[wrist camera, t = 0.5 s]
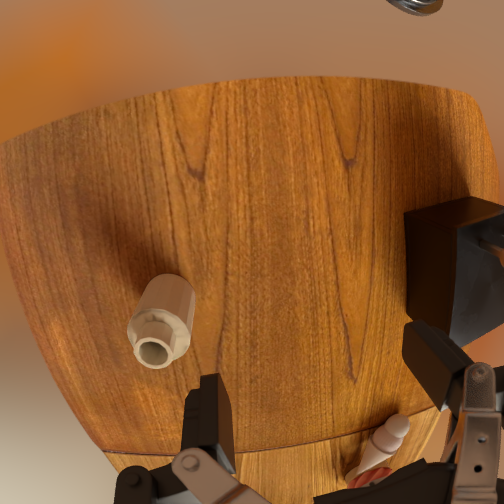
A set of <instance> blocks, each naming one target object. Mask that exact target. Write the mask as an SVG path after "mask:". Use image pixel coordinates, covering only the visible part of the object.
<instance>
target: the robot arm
mask: <svg viewBox="0 0 504 504" xmlns="http://www.w3.org/2000/svg"><path fill="white" fill-rule="evenodd" d="M407 1H409V2H412V3H414V4H417V5H430V4H432V3H434V2H435V1H437V0H407ZM402 356H403V360H404V362H405V364H406V365H407V366H408V368H409V369H410V370H411V372H412V373H413V375H414V376H415V377H416V379H417V380H418V381H419V383H420V384H421V386H422V387H423V388H424V390H425V391H426V393H427V394H428V395H429V397H430V398H431V400H432V401H433V403H434V404H435V405H436V407H437V408H438V410H439V411H440V412H441V411H443V410H445V409H447V408H449V409H450V410H451V413H450V417H449V423H448V430H447V435H446V441H445V446H444V450H443V454H442V457H441V459H440V462H433V463H426V461H425V459H424V458H422V459H420V460H418V461H416V462H413V463H411V464H409V465H407V466H404V467H402V468H400V469H398V470H397V471H395V472H394V473H392V474H391V475H389V476H388V477H386V478H385V479H383V480H382V481H380V482H379V483H377V484H376V485H373V486H368V487H360V488H351V489H342V490H338V491H335V492H331V493H328V494H324V495H320V496H316V497H313V500H314V504H504V480H503V479H500V478H497V474H498V467H499V457H500V443H501V426H502V428H503V429H504V366H500V367H496V368H492V367H491V366H490V365H488V364H486V363H482V362H476V363H474V362H473V361H472V360H471V358H469V357H468V355H467V354H466V353H465V352H464V351H463V350H462V349H461V348H460V347H459V346H458V345H457V344H455V342H454V341H453V340H452V339H451V338H450V337H449V336H448V335H447V334H446V333H445V332H444V331H443V330H441V329H439V328H437V327H435V326H431V327H430V326H429V325H428V324H427V323H426V322H425V321H424V320H423V319H417V320H415V321H412V322H409V323H406V324H405V326H404V333H403V344H402ZM184 410H185V411H184V419H183V429H182V441H181V450H180V452H179V453H178V454H177V455H176V456H175V457H174V458H173V461H172V462H171V463H169V464H168V465H165V466H162V467H159V468H156V469H153V470H150V471H148V470H147V469H146V468H144V467H142V466H136V465H135V466H130V467H127V468H125V469H124V470H122V471H121V472H120V474H119V475H118V477H117V482H116V489H115V497H114V504H272V503H270V502H269V501H268V500H266V499H265V498H264V497H262V496H261V495H260V494H258V493H257V492H256V491H254V490H253V489H252V488H251V487H249V486H248V485H246V484H244V485H243V484H242V483H240V482H239V481H238V480H237V479H235V478H234V477H233V476H232V475H231V474H236V468H235V455H234V440H233V425H232V410H231V404H230V400H229V396H228V394H227V391H226V389H225V386H224V384H223V381H222V378H221V376H220V374H219V373H214V374H209V375H203V376H201V378H200V388H199V389H192V390H191V391H190V392H189V394H188V396H187V397H186V399H185V407H184Z"/></svg>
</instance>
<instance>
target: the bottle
mask: <svg viewBox="0 0 504 504" xmlns="http://www.w3.org/2000/svg"><path fill="white" fill-rule="evenodd" d="M195 302H196V296H195V292H194V289H193V288H192V286H191V285H190V283H189V282H188V281H186V280H185V279H184V278H182V277H180V276H178V275H175V274H161V275H158V276H156V277H154V278H153V279H152V280H151V281H150V282H149V283H148V285H147V287H146V289H145V291H144V293H143V295H142V297H141V299H140V301H139V303H138V305H137V307H136V309H135V311H134V313H133V315H132V317H131V319H130V321H129V323H128V326H127V332H128V338H129V340H130V342H131V344H132V346H133V347H134V354H135V356H136V358H137V360H138V361H139V362H140V363H142V364H143V365H145V366H146V367H150V368H153V369H160V368H165V367H166V366H168V365H169V364H170V363H171V362H172V360H176V359H177V358H179V357H180V356H182V355H184V354H185V352H186V350H187V349H188V347H189V345H190V338H191V331H192V324H193V317H194V310H195Z"/></svg>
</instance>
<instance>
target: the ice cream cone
mask: <svg viewBox="0 0 504 504" xmlns="http://www.w3.org/2000/svg"><path fill="white" fill-rule="evenodd" d="M409 428H410V422H409V419H408V418H407V417H406V416H405V415H402V414H395V415H393V416H391V417H390V418H388V420H387V421H386V423H385V424H384V425H382V426H380V427H379V428H378V429H377V430H376V431H375V432H374V434H372V435H370V437H369V439H368V442H367V445H366V448H365V451H364V454H363V457H362V460H361V463H360V465H359V468H358V471H357V473H356V475H358V474H360V473H362V472H364V471H365V470H367V469H369V468H371V467H373V466H375V465H377V464H378V463H380V462H382V461H384V460H385V459H387V458H389V457H391V456H392V455H394V454H395V453H396V449H398V448H399V447H400V445H401V444H402V441H403V436H405V435H406V434H407V432H408V431H409Z"/></svg>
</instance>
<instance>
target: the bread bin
mask: <svg viewBox="0 0 504 504" xmlns="http://www.w3.org/2000/svg"><path fill="white" fill-rule="evenodd" d="M502 210H504V206H502V205H499V204H496V203H493V202H490V201H486V200H483V199H480V198H477V197H473V196H469V197H465V198H461V199H457V200H453V201H449V202H445V203H441V204H437V205H433V206H429V207H425V208H422V209H418V210H414V211H410V212H406V213H404V225H405V240H406V265H407V311H406V314H407V315H408V316H409V317H410V318H411V319H412V320H413V321H415V320H417V319H423V320H424V321H425V322H426V323H427V324H428V325H429V326H430V327H431V326H435V327H437V328H439V329H441V330H443V331H444V332H446V325H447V317H448V307H449V297H450V284H451V266H452V226H455V225H458V224H461V223H464V222H468V221H471V220H474V219H477V218H480V217H483V216H487V215H490V214H493V213H496V212H499V211H502Z"/></svg>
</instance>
